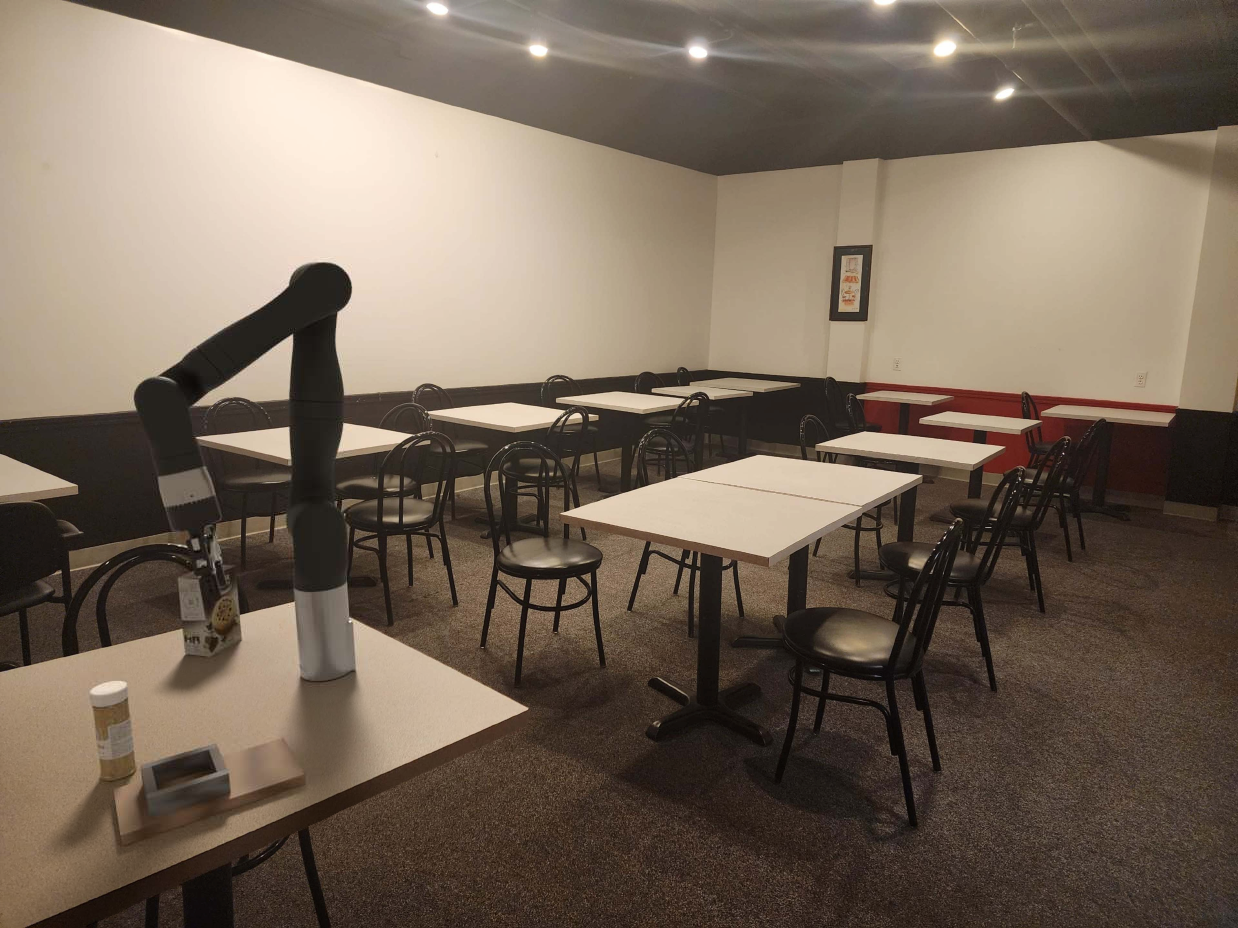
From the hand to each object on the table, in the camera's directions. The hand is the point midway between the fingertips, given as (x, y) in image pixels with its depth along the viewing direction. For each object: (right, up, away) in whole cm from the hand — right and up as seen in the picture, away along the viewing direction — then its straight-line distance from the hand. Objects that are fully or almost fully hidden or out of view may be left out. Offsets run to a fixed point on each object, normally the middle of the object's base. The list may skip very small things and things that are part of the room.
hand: (217, 591), depth 126 cm
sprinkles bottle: (-6, -24, -16) cm, 29 cm away
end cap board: (+10, -24, -20) cm, 33 cm away
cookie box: (-15, -16, +28) cm, 36 cm away
